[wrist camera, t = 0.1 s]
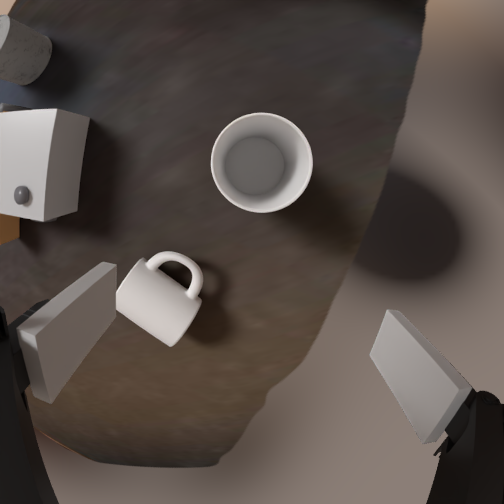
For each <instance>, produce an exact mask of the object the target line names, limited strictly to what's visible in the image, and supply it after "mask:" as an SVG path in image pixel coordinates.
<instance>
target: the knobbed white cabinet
mask: <svg viewBox="0 0 504 504" xmlns="http://www.w3.org/2000/svg"><path fill="white" fill-rule="evenodd" d="M89 121H90V118H89V117H86V116H82V115H79V114H75V113H71V112H68V111H64V110H60V109H39V110H24V111H12V112H3V113H0V213H1V214H6V215H12V216H17V217H22V218H27V219H31V220H32V221H35V222H53V221H56V220H57V217H59V216H63V215H66V214H69V213H72V212H76V211H77V208H78V196H79V186H80V177H81V169H82V162H83V155H84V148H85V142H86V136H87V131H88V126H89Z"/></svg>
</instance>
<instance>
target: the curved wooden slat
mask: <svg viewBox="0 0 504 504" xmlns="http://www.w3.org/2000/svg"><path fill="white" fill-rule="evenodd" d="M24 110H32V109H31V108H26V107H21V106H16V105H10V104H5V103H1V104H0V113H3V112H12V111H24ZM19 219H20V217H17V216H12V215H6V214H1V213H0V245H1V244H4V243H6V242H9V241H11V240H14V239H16V238H19Z"/></svg>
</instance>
